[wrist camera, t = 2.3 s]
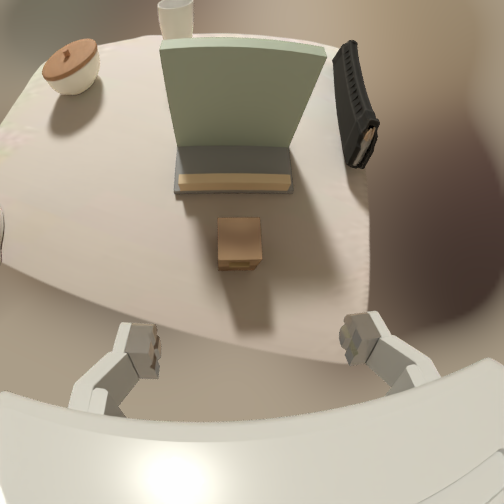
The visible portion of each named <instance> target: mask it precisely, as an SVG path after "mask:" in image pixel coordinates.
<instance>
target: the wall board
mask: <svg viewBox="0 0 504 504" xmlns="http://www.w3.org/2000/svg"><path fill="white" fill-rule="evenodd" d="M159 51H160V57H161V64H162V69H163V75H164V81H165V87H166V92H167V97H168V103H169V108H170V113H171V118H172V123H173V128H174V133H175V138H176V142H177V156H176V168H175V181H174V193H175V194H191V193H287V194H292V193H293V191H294V190H293V181H292V172H291V163H290V155H289V145H290V143H291V141H292V138H293V136H294V134H295V131H296V129H297V127H298V124H299V122H300V119H301V117H302V115H303V112H304V110H305V108H306V105H307V103H308V101H309V98H310V96H311V94H312V91H313V89H314V87H315V84H316V82H317V79H318V77H319V75H320V72H321V70H322V68H323V65H324V63H325V61H326V58H327V55H326V52H325V50H324V47H319V46H314V45H308V44H302V43H295V42H287V41H278V40H268V39H255V38H234V37H203V38H182V39H169V40H162V43H161V46H160V49H159Z"/></svg>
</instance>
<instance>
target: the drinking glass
mask: <svg viewBox="0 0 504 504" xmlns="http://www.w3.org/2000/svg"><path fill="white" fill-rule="evenodd" d="M158 19H159V24H160V28H161V32H162V36H163V40H169V39H182V38H192V33H193V22H194V3H193V0H162V1H161V2H159V3H158Z"/></svg>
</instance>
